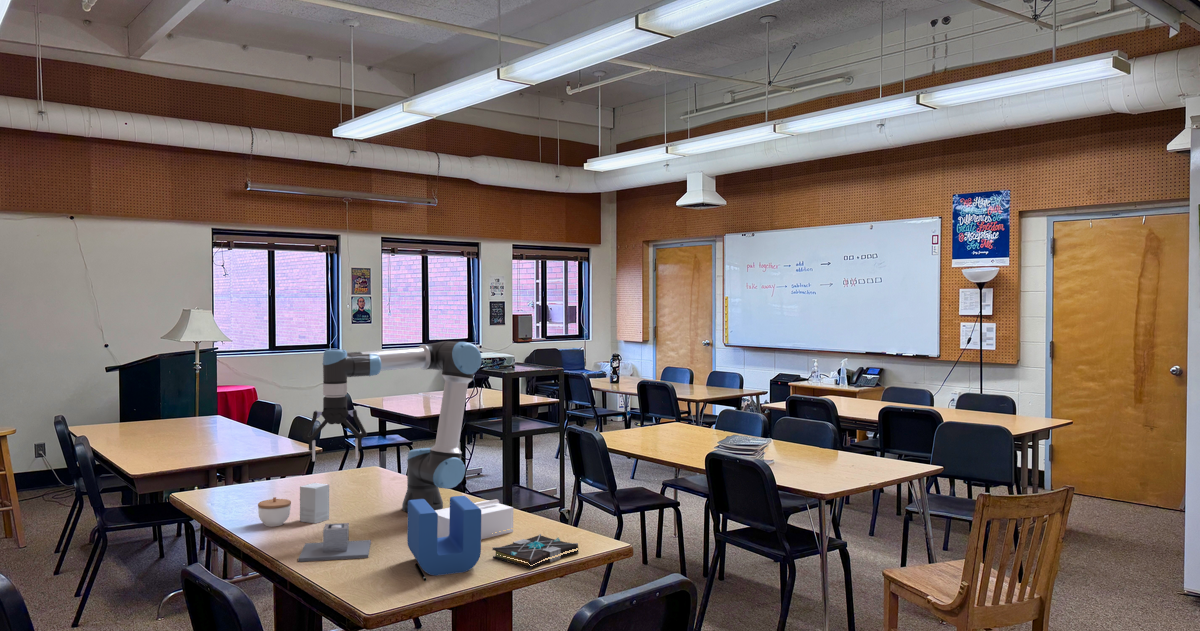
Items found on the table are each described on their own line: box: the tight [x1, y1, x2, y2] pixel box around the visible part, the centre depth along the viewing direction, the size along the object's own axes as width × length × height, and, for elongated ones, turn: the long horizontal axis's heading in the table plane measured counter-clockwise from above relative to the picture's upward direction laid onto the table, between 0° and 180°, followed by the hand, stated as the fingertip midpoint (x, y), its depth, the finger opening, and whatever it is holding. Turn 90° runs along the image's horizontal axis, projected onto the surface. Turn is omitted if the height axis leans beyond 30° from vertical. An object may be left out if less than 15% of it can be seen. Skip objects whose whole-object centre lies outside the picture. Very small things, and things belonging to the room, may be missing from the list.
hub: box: [322, 522, 350, 553], centre depth 245 cm, size 7×7×7 cm
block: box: [406, 495, 482, 576], centre depth 234 cm, size 18×18×18 cm
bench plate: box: [297, 525, 372, 563], centre depth 245 cm, size 20×16×8 cm
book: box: [492, 533, 579, 571], centre depth 244 cm, size 22×17×5 cm
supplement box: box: [299, 482, 330, 524], centre depth 283 cm, size 7×7×13 cm
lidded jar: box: [257, 497, 292, 528], centre depth 277 cm, size 11×11×9 cm
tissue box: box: [435, 498, 514, 540], centre depth 267 cm, size 14×25×11 cm, turn 135°
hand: (335, 459), depth 263 cm, fingers open, 13 cm apart
